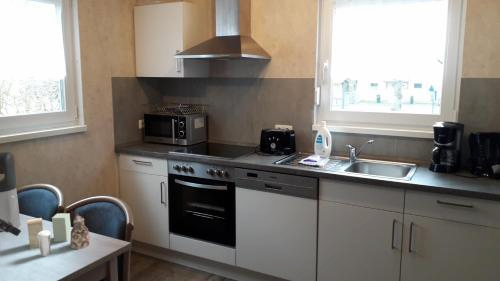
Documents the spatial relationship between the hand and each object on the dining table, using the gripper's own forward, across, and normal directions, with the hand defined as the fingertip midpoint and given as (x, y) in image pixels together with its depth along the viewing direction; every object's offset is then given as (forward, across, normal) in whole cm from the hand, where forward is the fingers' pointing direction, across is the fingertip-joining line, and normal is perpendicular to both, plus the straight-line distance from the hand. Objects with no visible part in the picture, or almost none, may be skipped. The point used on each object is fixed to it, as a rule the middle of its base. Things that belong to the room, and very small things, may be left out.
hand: (14, 230), depth 144 cm
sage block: (+23, +9, -5) cm, 25 cm away
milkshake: (+15, 0, +3) cm, 16 cm away
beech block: (+16, +11, +2) cm, 19 cm away
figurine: (+24, -2, -6) cm, 25 cm away
